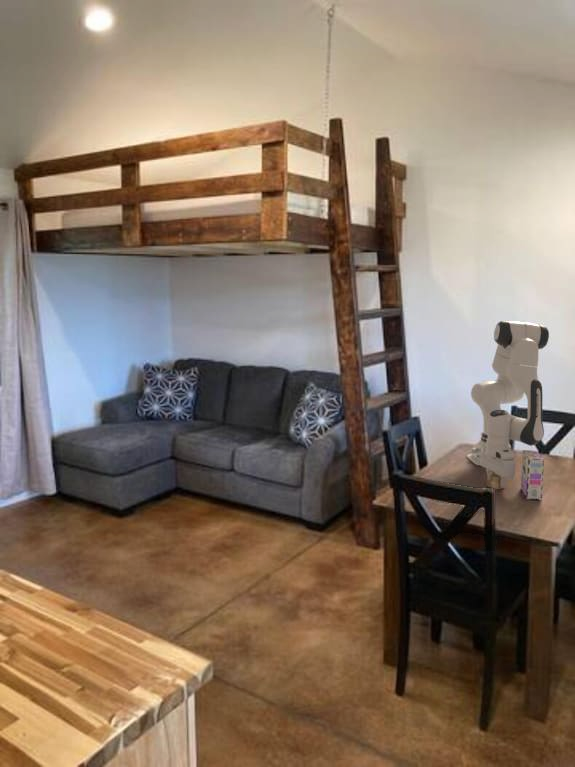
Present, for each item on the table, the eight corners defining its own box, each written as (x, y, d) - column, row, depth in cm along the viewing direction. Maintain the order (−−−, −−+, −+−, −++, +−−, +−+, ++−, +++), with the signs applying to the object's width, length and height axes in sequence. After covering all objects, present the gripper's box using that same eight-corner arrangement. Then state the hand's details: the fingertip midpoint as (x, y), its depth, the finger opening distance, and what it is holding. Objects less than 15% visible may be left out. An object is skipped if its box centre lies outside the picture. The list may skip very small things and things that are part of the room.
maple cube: (487, 485, 257) (487, 473, 256) (497, 484, 258) (498, 472, 257) (493, 489, 252) (494, 477, 251) (504, 488, 253) (505, 476, 252)
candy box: (542, 500, 238) (544, 459, 236) (526, 499, 239) (528, 458, 237) (535, 489, 251) (537, 449, 249) (520, 488, 253) (522, 449, 250)
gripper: (476, 444, 262) (475, 476, 264) (504, 457, 242) (503, 491, 244) (490, 443, 263) (489, 474, 265) (518, 455, 244) (517, 489, 246)
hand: (496, 482), depth 255 cm, fingers open, 7 cm apart
